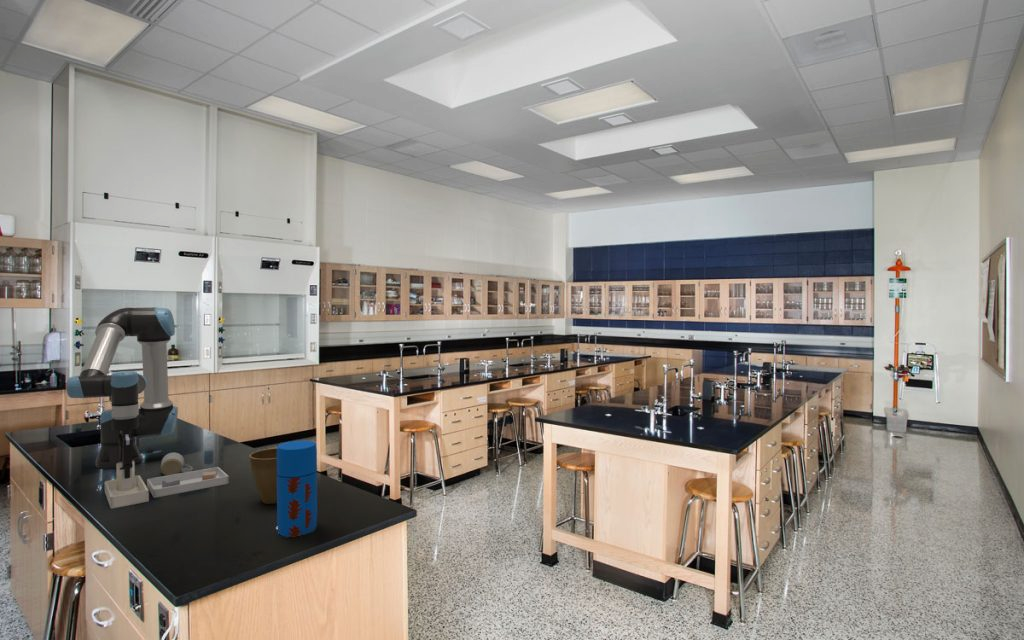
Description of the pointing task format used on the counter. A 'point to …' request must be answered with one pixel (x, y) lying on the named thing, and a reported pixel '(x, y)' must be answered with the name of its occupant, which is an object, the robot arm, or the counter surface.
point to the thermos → (296, 487)
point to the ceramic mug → (174, 464)
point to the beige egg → (119, 477)
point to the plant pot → (265, 474)
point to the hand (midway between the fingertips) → (125, 485)
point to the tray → (186, 482)
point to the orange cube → (208, 475)
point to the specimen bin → (126, 493)
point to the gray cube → (170, 482)
